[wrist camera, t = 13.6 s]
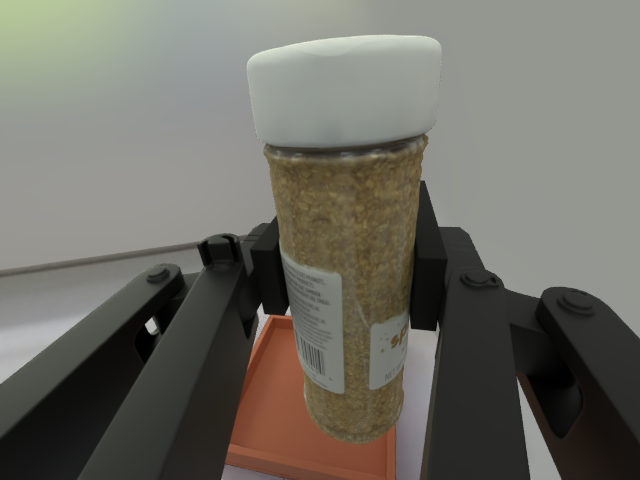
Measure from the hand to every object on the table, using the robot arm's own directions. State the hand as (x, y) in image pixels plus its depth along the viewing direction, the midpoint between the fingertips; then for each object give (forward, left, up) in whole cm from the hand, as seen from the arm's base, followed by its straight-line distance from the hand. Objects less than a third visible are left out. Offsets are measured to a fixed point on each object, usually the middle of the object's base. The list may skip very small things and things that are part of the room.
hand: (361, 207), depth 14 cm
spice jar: (0, +5, -7) cm, 9 cm away
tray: (+5, -4, -22) cm, 23 cm away
